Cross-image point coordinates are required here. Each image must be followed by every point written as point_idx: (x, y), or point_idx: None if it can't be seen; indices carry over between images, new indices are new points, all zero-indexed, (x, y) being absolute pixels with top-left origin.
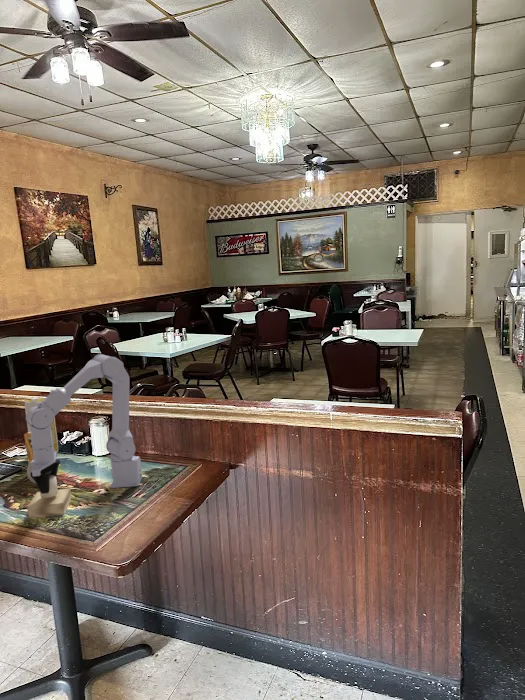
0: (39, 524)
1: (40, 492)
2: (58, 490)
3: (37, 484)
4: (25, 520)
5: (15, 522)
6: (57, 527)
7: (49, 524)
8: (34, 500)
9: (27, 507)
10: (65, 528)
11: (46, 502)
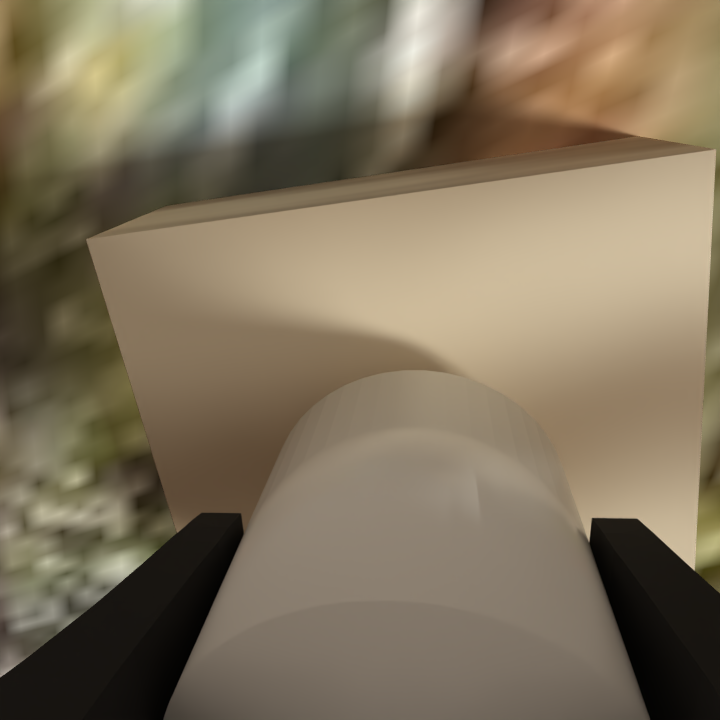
0: (43, 394)
1: (292, 456)
2: (662, 521)
3: (17, 674)
4: (119, 180)
5: (60, 54)
6: (9, 578)
7: (53, 493)
8: (327, 260)
9: (90, 239)
10: (2, 642)
11: (242, 480)
